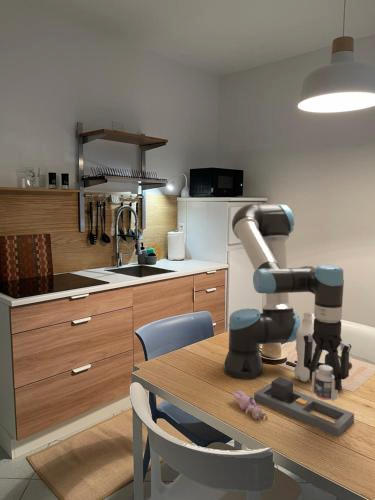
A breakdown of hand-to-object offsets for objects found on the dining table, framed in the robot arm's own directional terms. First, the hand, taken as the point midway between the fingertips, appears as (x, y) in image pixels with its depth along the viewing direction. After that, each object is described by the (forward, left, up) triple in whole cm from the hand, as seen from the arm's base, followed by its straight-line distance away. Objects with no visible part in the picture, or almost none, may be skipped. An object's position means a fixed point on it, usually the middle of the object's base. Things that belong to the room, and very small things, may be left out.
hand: (324, 395), depth 113 cm
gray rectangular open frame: (-7, 0, -8) cm, 11 cm away
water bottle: (-17, +20, -8) cm, 28 cm away
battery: (-7, +23, -8) cm, 26 cm away
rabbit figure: (-19, -12, -8) cm, 24 cm away
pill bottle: (0, 0, 0) cm, 1 cm away
